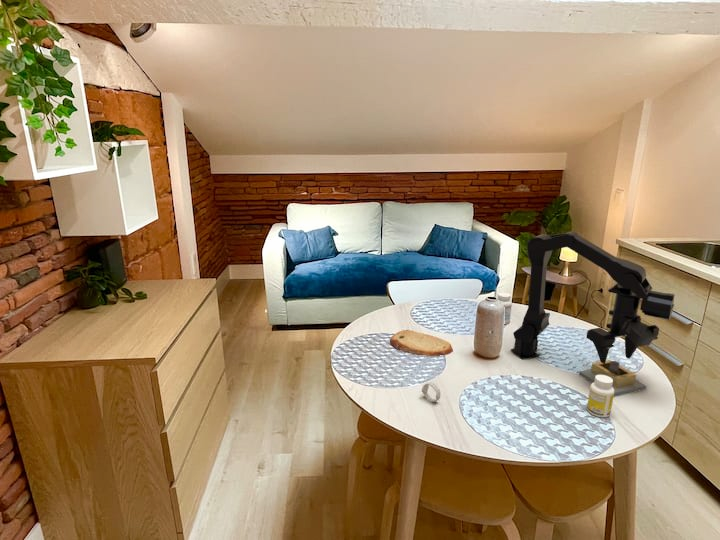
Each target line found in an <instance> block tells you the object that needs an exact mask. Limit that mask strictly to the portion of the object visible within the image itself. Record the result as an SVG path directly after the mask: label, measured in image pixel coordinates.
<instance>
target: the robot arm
mask: <svg viewBox="0 0 720 540" xmlns="http://www.w3.org/2000/svg"><path fill="white" fill-rule="evenodd" d="M526 244H527V245H526V250H527V258H528V260H529V263H530V274H529V275H530V276H529V277H530V278H529V288H528V289H529V293H528V304H527V305H528V308H527V310H526V311H525V315H524V317H523V319H522V324H521V326H520V327H519V328H517V329H516V330H515V331H514V332H513V333H512V334H513V337H514V344H513V345H514V347H513V348H510V351H511V352H512V353H513V354H515V355H516V356H517V357H518V358H520V359H521V360H527V359H532V358H536V357H537V358H538V357H539V356H540V355H539V353H538V352H537V351H538V345H539V340H538V339H539V335H541V334H542V333H543V332H544V331H545V330H546V329H547V327H548V326H550V321H549V319H550V316H551V315H550V312H546V311H545V308H544V306H545V305H544V304H545V294H546V280H547V269H548V263H549V261H550V258H551V256H552V253H553V251H554V250H560V249H564V248H568V249H569V250H571V251H573V252H574V253H576V254H578V255H579V256H581V257H583V259H586V260H587V261H589V262H590V263H592V264H594V265H596V266H598V267H599V268H601V269H602V270H604V271H605V272H606V273H607V274H608V275H609V277H611V279H612V280H613V281H614V282H615V283H616V284H615V285H613V286H611V287H610V288H608V290H607V291H608V293H613V294H615V299H614V303H613V309H611V310H608V314H609V315H610V316H611V319H610V323H606V328H607V329H609V330H606V329H604V328H602V327H596V328H590V329H588V330H587V331H586V339H588V340H589V341H590V342H592V343H593V345H594V348H595V350H596V352H597V356H598V359H599V362H602V363H603V364H604V363H605V362H606V360H608V359H607V358H608V354H609V351H610V349H611V348H614V347H615V345H614V343H615V342H616V339H617V338H622V337H623V338H624V352H625V358H627V359H631V357H632V356H633V355H634V353H635V351H636V350H637V349H638V348H639V347H643V346H649V345H651V343H652V342H653V341H656V340H658V339H659V337H658V336H659V332H660V328H659V326H657V325H656V324H651V325H649V324H647V323H644V322H642V318H641V315H639V314H638V310H639V308H640V311H641V313H643V314H644V316H649V317H653V318H656V319H662V320H667V321H670V320H671V317H672V315H673V312H674V306H675V304H674V302H675V294H674V293H670V292H668V293H667V292H661V291H654V290H653V287H652V284H650V283H649V282H650V281H649V280H648V279H647V271H646V269H645V268H644V266H642V265H641V264H638V263H635V262H633V261H630V260H627V259H623V258H620V257H617V256H615V255H613V254H612V253H610V252H608V251H606V250H604V249H602V248H601V247H599V246H598V245H596V244H594V243H593V242H591V241H589V240H588V239H586V238H584V237H582V236H581V235H579V234H578V233H577V232H575V231H572V230H571V231H568V232H565V233H558V234H552V235H549V234H547V233H546V234H545V233H541V234H539V235H537V236H535V237H532V238H531V239H530V240H528V242H527V243H526ZM640 301H641V303H640ZM640 304H641V305H640ZM639 306H640V307H639Z"/></svg>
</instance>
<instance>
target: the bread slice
mask: <svg viewBox="0 0 720 540" xmlns="http://www.w3.org/2000/svg"><path fill="white" fill-rule="evenodd" d="M389 342H390V343H391V344H390V343H389V344H390V345H391V346H393V347H394V348H396V350H398V349H399V350H398V351H400V350H401V351H400V352H403V351H404V353H406V352H407V354H410V353H411V355H415V354H416V355H417V356H422V355H426V356H425V357H441V356H440V355H443V356H447V355H450V354H451V352H452V353H453V352H454V349H453V347H452V344H451V343H450V342H449V341H447V340H445V339H442V338H439V337H437V336H433V335H430V334H425V333H423V332H417V331H414V330H410V329H406V330H401V331H398V332H397V333H394V334H393V335H392V336H391V337H390V339H389ZM416 355H415V356H416Z"/></svg>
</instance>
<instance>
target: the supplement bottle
mask: <svg viewBox="0 0 720 540" xmlns="http://www.w3.org/2000/svg"><path fill="white" fill-rule="evenodd" d="M612 385H613V379H612V378H610V377H609V376H606V375H596V376H595V381H594V382H593V383H590V386H589V393H588V400H587V405H586V410H587V411H588V412H589V413H590V415H592V416H595V417H598V418H608V417H610V416H611V412H612V406H613V402H614V401H613V400H614V397H615V396H614V388H613V387H612Z"/></svg>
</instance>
